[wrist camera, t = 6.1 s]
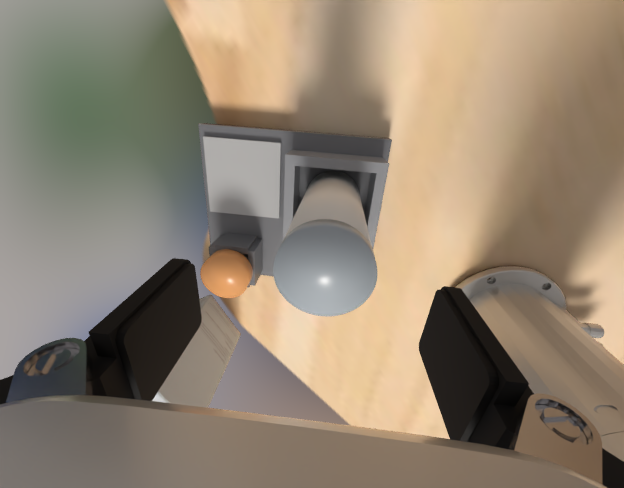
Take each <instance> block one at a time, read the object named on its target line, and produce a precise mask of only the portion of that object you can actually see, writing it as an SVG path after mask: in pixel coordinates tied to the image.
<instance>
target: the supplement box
mask: <svg viewBox="0 0 624 488" xmlns="http://www.w3.org/2000/svg"><path fill="white" fill-rule="evenodd" d="M199 301H200V308H201V315H202V321H201V325H200V327H199V329H198V330H197V332H196V333H195V335H194V336H193V338H192V340H191V341H190V343H189V344H188V346H187V347H186V349H185V350H184V352H183V354H182V355H181V357H180V358H179V360H178V361H177V363H176V364H175V366H174V368H173V369H172V371H171V372H170V374H169V375H168V377H167V378H166V380H165V382H164V383H163V385H162V386H161V388H160V389H159V391H158V392H157V394H156V395H155V397H154V399H153V400H152V401H156V402H165V403H173V404H181V405H189V406H198V407H206V408H208V407H209V404H210V402H211V400H212V398H213V395H214V393H215V391H216V389H217V386H218V384H219V382H220V380H221V378H222V375H223V373H224V371H225V369H226V367H227V364H228V362H229V360H230V358H231V355H232V353H233V351H234V349H235V346H236V344H237V342H238V340H239V337H240V335H241V334H240V332H239V331H238V330H237V329H236V327H235V326H234V325H233V323H232V322H231V320H230V319H229V318H228V317H227V315H226V314H225V313H224V311H223V310H222V308H221V307H220V306H219V304H218V303H217V302H216V301H215V300H214V298H213V297H212V295H209V296H207V297H203V298H201V299H199Z"/></svg>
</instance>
